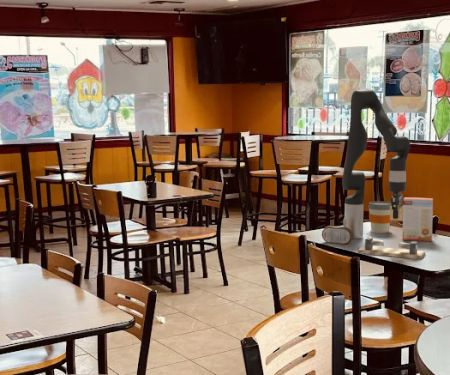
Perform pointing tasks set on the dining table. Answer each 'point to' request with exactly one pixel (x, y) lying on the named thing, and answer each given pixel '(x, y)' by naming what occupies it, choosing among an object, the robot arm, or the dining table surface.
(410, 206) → the cracker box
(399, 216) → the coupler
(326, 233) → the tin
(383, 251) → the shaft rig
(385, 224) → the reusable coffee cup
